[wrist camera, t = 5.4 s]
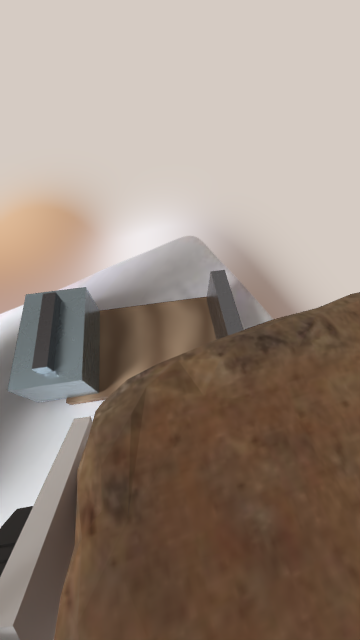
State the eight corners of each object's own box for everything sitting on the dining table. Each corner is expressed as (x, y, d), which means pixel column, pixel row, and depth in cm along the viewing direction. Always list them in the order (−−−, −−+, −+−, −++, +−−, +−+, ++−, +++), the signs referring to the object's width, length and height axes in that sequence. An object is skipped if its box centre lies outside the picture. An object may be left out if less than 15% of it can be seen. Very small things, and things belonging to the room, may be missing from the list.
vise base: (70, 404, 34) (39, 390, 27) (76, 318, 41) (52, 288, 33) (244, 378, 36) (260, 357, 28) (222, 299, 43) (230, 266, 35)
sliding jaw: (38, 402, 32) (-3, 387, 25) (49, 318, 39) (18, 287, 32) (99, 393, 33) (76, 375, 26) (100, 311, 39) (81, 279, 32)
